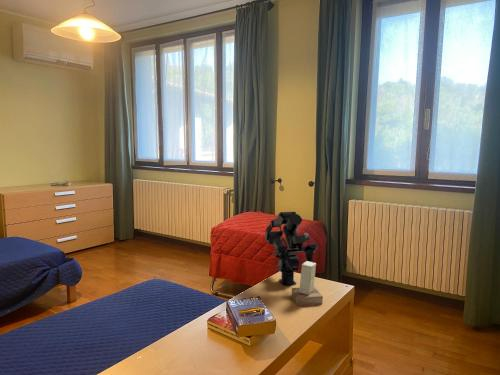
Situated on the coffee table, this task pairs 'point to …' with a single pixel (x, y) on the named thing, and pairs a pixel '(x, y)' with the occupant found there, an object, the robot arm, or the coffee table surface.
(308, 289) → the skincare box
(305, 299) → the grey square block
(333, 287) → the coffee table surface
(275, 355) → the coffee table surface
